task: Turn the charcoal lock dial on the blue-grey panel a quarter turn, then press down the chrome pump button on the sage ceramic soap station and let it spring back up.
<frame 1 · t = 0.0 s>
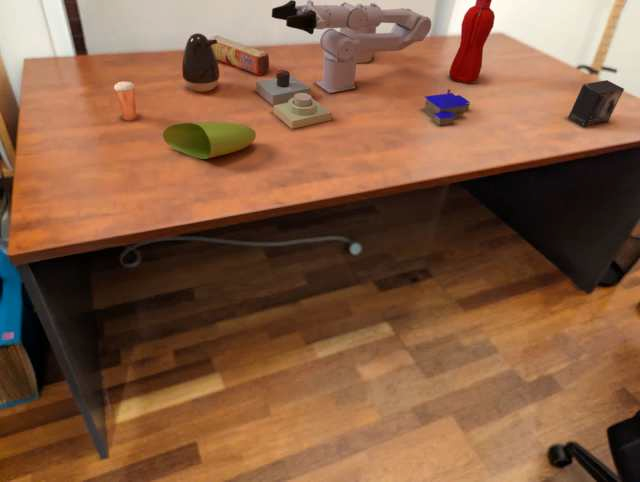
hand: (279, 17, 127), 22 cm above the table, tool horizontal, fingers open, 7 cm apart
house: (443, 113, 141), on the table
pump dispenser: (202, 89, 142), on the table
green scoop: (215, 152, 116), on the table
milkshake: (131, 117, 126), on the table
toilet paper roll: (354, 57, 170), on the table
small box: (587, 121, 144), on the table
snack package: (238, 65, 157), on the table
water bottle: (462, 79, 161), on the table
lock dial: (283, 78, 139), point 5 cm above the table, hinge at 0.0°
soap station: (301, 116, 133), on the table
dial panel: (282, 94, 142), on the table
pump button: (302, 100, 130), point 5 cm above the table, slide at 0.1 cm
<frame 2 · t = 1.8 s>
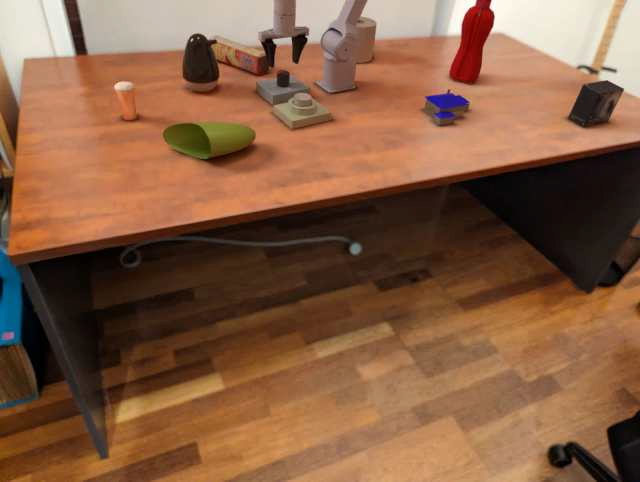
hand: (283, 64, 136), 9 cm above the table, tool pointing down, fingers open, 7 cm apart
nothing on the table moved.
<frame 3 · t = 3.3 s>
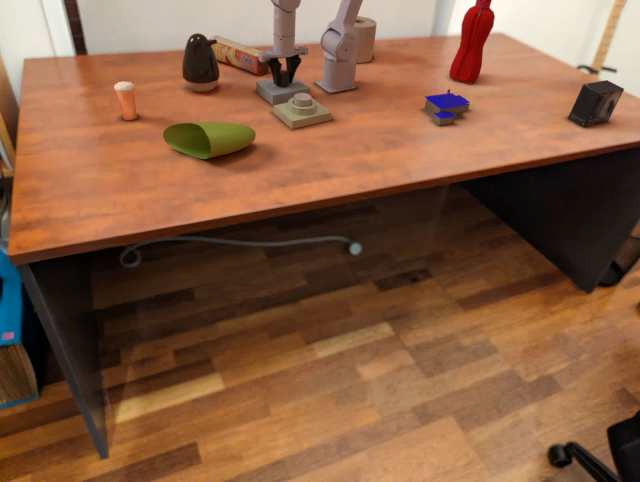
hand: (283, 83, 140), 4 cm above the table, tool pointing down, fingers closed on lock dial, 3 cm apart
lock dial: (283, 78, 139), point 5 cm above the table, hinge at 0.0°, touching gripper
everything else where it was.
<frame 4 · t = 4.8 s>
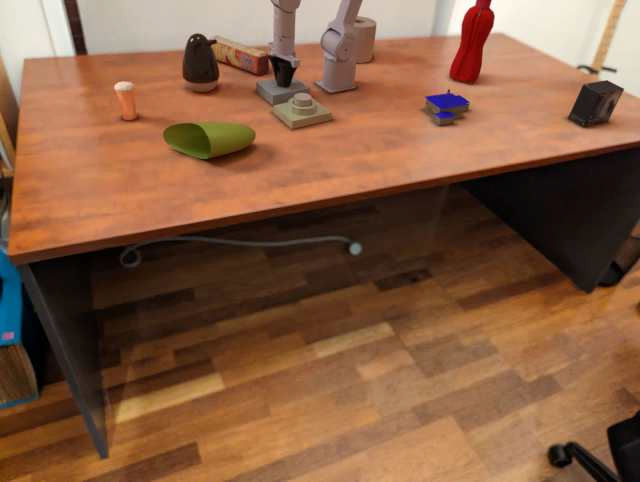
hand: (282, 83, 140), 3 cm above the table, tool pointing down, fingers closed on lock dial, 4 cm apart
lock dial: (283, 78, 139), point 5 cm above the table, hinge at 90.1°, touching gripper
everything else where it was.
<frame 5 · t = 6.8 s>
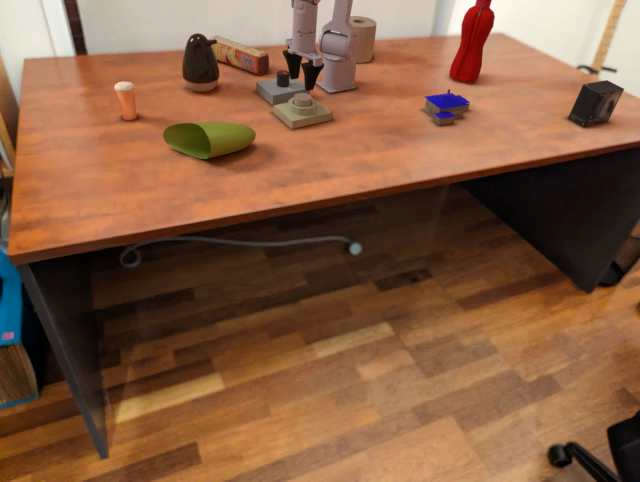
hand: (301, 84, 128), 9 cm above the table, tool pointing down, fingers open, 7 cm apart
lock dial: (283, 78, 139), point 5 cm above the table, hinge at 90.1°
everything else where it was.
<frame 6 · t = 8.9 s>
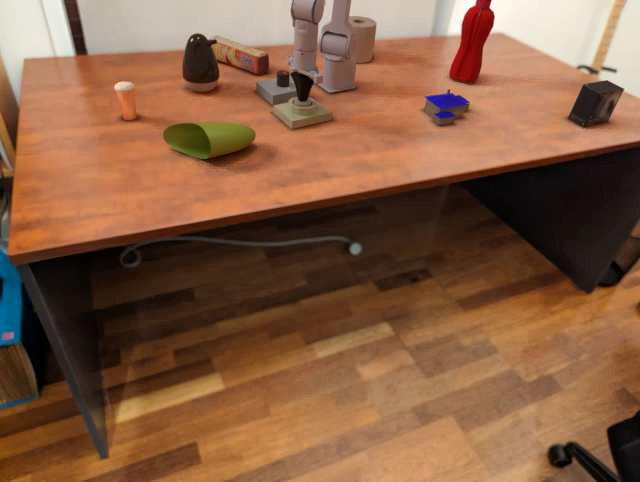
hand: (302, 100, 130), 5 cm above the table, tool pointing down, fingers closed, pressing on pump button
pump button: (302, 103, 130), point 4 cm above the table, slide at -0.9 cm, touching gripper
everything else where it was.
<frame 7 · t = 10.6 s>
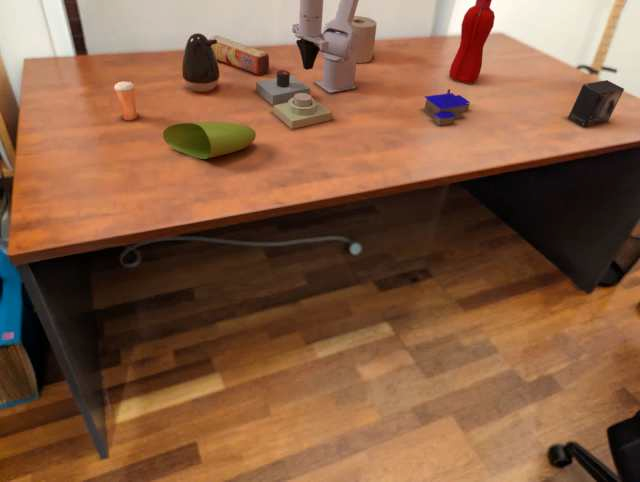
hand: (308, 68, 131), 10 cm above the table, tool pointing down, fingers closed
pump button: (302, 100, 130), point 5 cm above the table, slide at 0.1 cm
everything else where it was.
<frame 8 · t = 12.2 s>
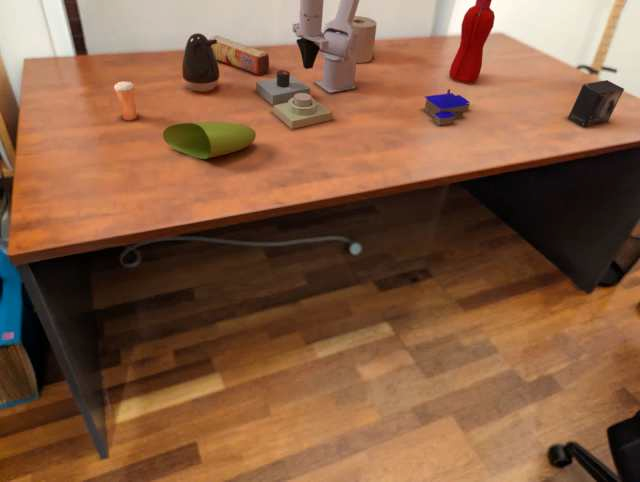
hand: (308, 67, 132), 10 cm above the table, tool pointing down, fingers closed
nothing on the table moved.
at the end: lock dial at +90° (first picture: +0°); pump button pushed in 1.0 cm at the most during the clip, back to where it started at the end; pump button slide at 0.1 cm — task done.
